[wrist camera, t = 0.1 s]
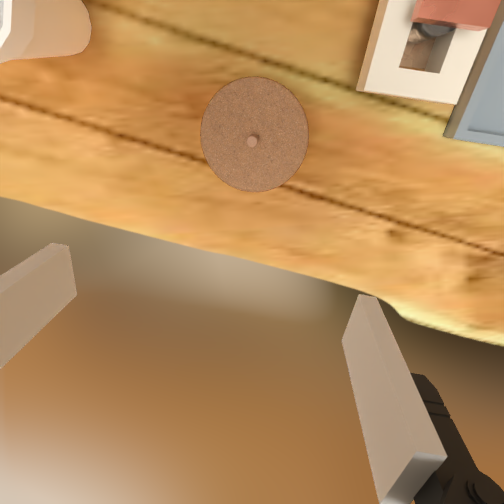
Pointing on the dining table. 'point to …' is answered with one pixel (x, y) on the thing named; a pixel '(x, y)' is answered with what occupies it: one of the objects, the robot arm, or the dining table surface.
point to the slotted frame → (413, 81)
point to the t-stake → (443, 25)
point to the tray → (483, 92)
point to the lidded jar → (254, 134)
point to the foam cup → (42, 28)
